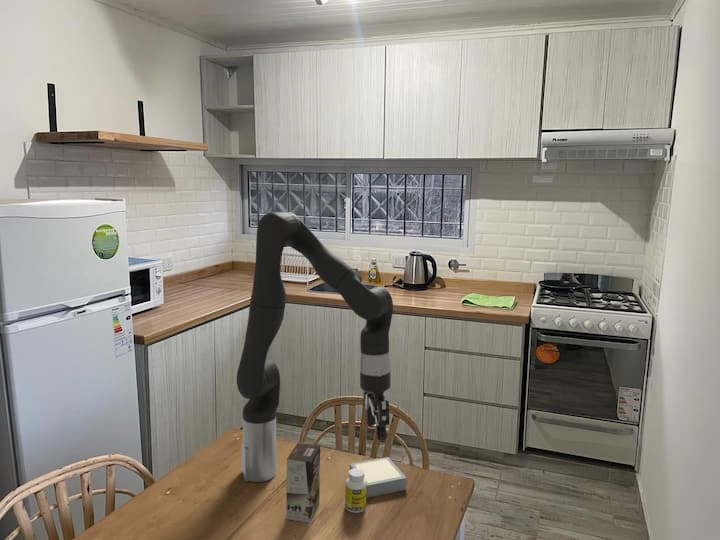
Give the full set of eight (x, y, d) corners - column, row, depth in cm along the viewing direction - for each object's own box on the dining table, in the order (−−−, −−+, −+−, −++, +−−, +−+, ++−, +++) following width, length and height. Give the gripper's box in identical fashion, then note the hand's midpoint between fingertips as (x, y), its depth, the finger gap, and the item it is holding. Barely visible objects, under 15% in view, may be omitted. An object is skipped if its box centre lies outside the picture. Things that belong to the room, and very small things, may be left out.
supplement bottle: (350, 515, 135) (351, 479, 134) (341, 504, 140) (342, 469, 138) (369, 510, 138) (370, 474, 136) (359, 499, 142) (360, 464, 141)
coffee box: (310, 523, 132) (311, 462, 129) (285, 519, 133) (285, 458, 130) (320, 502, 141) (321, 444, 138) (297, 499, 142) (297, 441, 139)
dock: (365, 498, 143) (365, 485, 142) (349, 475, 154) (349, 463, 153) (406, 489, 147) (406, 477, 147) (387, 468, 158) (388, 456, 158)
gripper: (353, 362, 138) (354, 422, 140) (368, 380, 125) (369, 446, 127) (380, 359, 140) (381, 418, 142) (399, 376, 127) (399, 442, 129)
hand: (376, 431), depth 135 cm, fingers open, 8 cm apart
